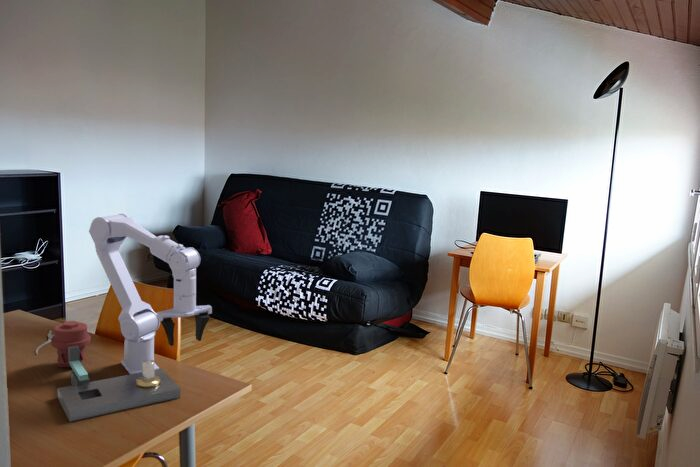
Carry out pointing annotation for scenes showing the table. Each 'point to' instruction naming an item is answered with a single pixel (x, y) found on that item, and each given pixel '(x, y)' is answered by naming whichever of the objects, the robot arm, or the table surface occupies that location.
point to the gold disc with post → (148, 375)
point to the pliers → (45, 342)
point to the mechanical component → (70, 340)
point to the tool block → (113, 394)
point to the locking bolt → (76, 362)
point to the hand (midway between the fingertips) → (184, 342)
